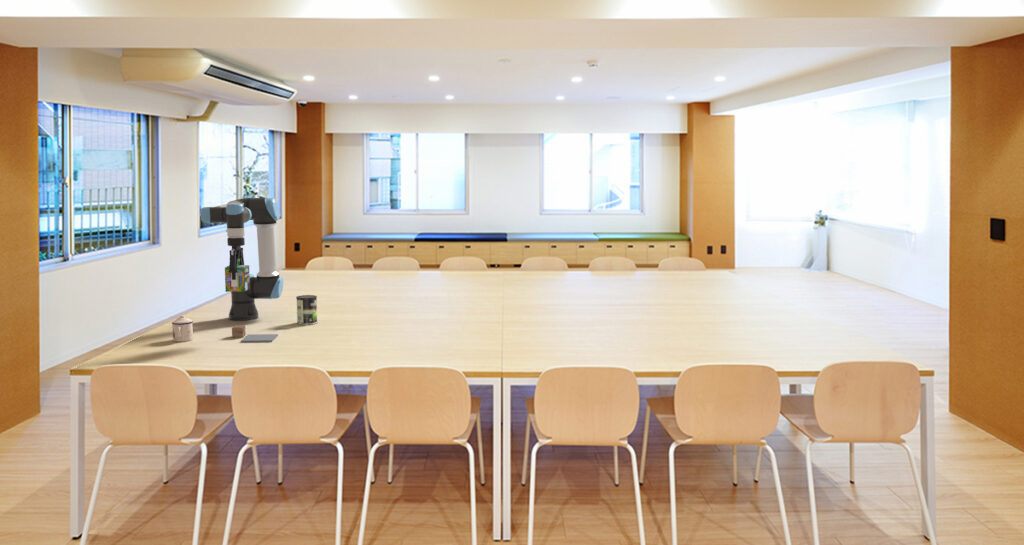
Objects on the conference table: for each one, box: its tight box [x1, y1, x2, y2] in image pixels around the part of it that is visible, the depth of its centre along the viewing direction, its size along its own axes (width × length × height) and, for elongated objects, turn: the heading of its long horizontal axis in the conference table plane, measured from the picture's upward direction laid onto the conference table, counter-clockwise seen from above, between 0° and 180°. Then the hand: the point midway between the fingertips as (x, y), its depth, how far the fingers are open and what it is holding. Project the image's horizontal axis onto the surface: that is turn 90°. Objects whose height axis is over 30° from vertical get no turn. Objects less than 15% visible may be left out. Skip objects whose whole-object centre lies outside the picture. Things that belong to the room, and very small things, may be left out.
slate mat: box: [240, 333, 279, 343], centre depth 371 cm, size 14×14×1 cm
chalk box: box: [224, 259, 250, 293], centre depth 366 cm, size 9×9×15 cm
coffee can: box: [295, 294, 318, 326], centre depth 409 cm, size 10×10×14 cm
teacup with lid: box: [171, 314, 194, 343], centre depth 365 cm, size 12×9×12 cm
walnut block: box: [231, 325, 247, 338], centre depth 375 cm, size 5×5×5 cm
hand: (237, 285), depth 367 cm, fingers closed on chalk box, 9 cm apart
